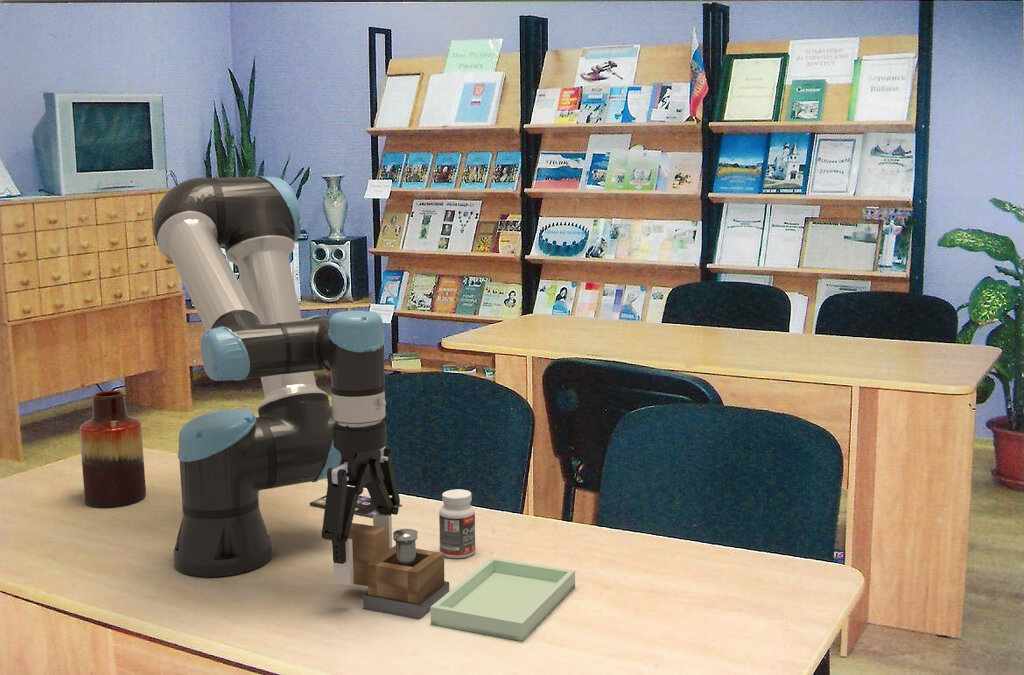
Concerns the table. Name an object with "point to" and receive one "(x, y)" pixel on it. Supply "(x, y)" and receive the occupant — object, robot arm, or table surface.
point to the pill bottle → (457, 524)
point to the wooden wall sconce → (392, 567)
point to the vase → (112, 454)
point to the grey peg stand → (408, 558)
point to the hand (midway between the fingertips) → (364, 569)
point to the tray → (503, 599)
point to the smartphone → (362, 507)
